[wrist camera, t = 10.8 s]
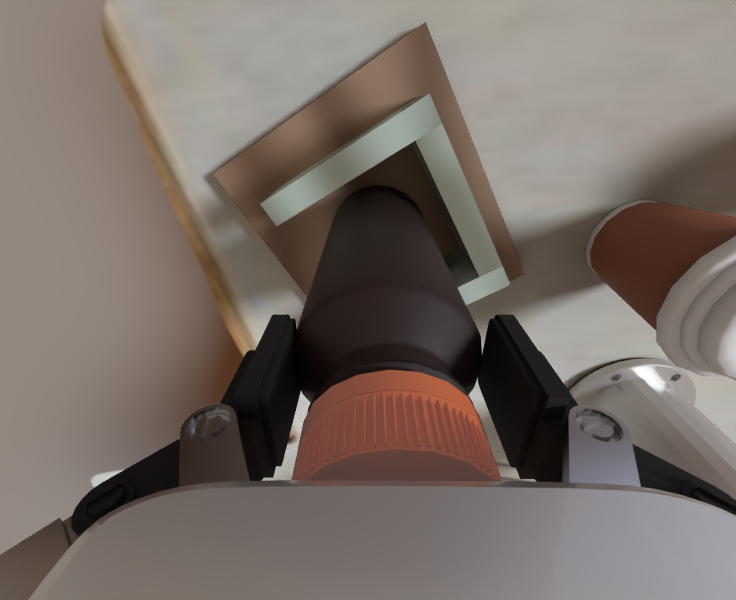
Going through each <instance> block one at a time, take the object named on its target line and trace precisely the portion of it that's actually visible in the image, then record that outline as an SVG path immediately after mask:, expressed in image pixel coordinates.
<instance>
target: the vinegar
mask: <svg viewBox="0 0 736 600" xmlns="http://www.w3.org/2000/svg"><path fill="white" fill-rule="evenodd" d="M294 359H295V370H296V377H297V381H298V384H299V386H300V389H301V391H302V393H303V395H304V396H305V397H306V398H307V399H308V400H309V401H310V402H311V404H310V406H309V408H308V414H307V416H306V418H305V420H304V422H303V427H302V432H301V437H300V441H299V446H298V452H297V457H296V462H295V467H294V471H293V476H292V480H390V481H502V479H501V477H500V474H499V471H498V468H497V465H496V462H495V460H494V457H493V454H492V451H491V448H490V445H489V443H488V439H487V436H486V433H485V430H484V428H483V425H482V422H481V419H480V416H479V414H478V413H477V411H476V409H475V408H474V405H473V402H472V401H471V399H470V397H469V396H468V395H469V393H470V392H471V391H472V390H473V388H474V386H475V383H476V380H477V377H478V375H479V372H480V369H481V366H482V348H481V336H480V333H479V331H478V329H477V327H476V325H475V323H474V321H473V319H472V317H471V314H470V312H469V310H468V308H467V306H466V304H465V302H464V300H463V298H462V296H461V294H460V292H459V290H458V288H457V286H456V284H455V282H454V280H453V277H452V275H451V273H450V271H449V269H448V267H447V265H446V263H445V261H444V259H443V257H442V255H441V253H440V251H439V249H438V247H437V245H436V242H435V240H434V238H433V236H432V234H431V232H430V230H429V228H428V226H427V224H426V222H425V220H424V218H423V216H422V214H421V212H420V210H419V208H418V206H417V204H416V203H415V202H414V201H413V200H412V199H411V198H410V197H409V196H408V195H407V194H406V193H404V192H402V191H399V190H397V189H395V188H393V187H388V186H378V185H375V186H370V187H366V188H361V189H359V190H358V191H356V192H354V193H353V194H351V195H349V196H348V197H347V198H346V199H345V200H344V201H343V202H342V204H341V205H340V206H339V207H338V209H337V211H336V214H335V216H334V219H333V221H332V224H331V227H330V230H329V233H328V236H327V239H326V242H325V245H324V248H323V251H322V255H321V258H320V261H319V264H318V267H317V270H316V273H315V276H314V279H313V282H312V285H311V288H310V291H309V294H308V297H307V300H306V303H305V306H304V309H303V312H302V315H301V318H300V321H299V324H298V327H297V332H296V335H295V339H294Z"/></svg>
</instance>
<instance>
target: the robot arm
mask: <svg viewBox="0 0 736 600" xmlns="http://www.w3.org/2000/svg"><path fill="white" fill-rule="evenodd" d="M296 332H297V329H296V322H295V319H290V316H289V315H272V317H271V319H270V321H269V323H268V325H267V327H266V329H265V331H264V334H263V336H262V338H261V340H260V342H259V344H258V346H257V348H256V350H249V351H248V352H247V353H246V354H245V356H244V358H243V360H242V362H241V364H240V366H239V368H238V370H237V372H236V374H235V376H234V378H233V380H232V382H231V383H230V385H229V387H228V389H227V391H226V393H225V395H224V397H223V399H222V401H221V403H220V404H212V405H207V406H205V407H202V408H200V409H198V410H196V411H195V412H193V413H192V414H191V415H190V416H189V417H188V418H187V419H186V420H185V421H184V422H183V424H182V426H181V429H180V439H178V440H176V441H175V442H173V443H172V444H169V445H168V446H166V447H165V448H162V449H161V450H159V451H157V452H155V453H154V454H152V455H150V456H148V457H147V458H145V459H143V460H141V461H139V462H138V463H136V464H134V465H132V466H131V467H129V468H127V469H125V470H124V471H122V472H120V473H118V474H116V475H115V476H113V477H111V478H109V479H108V480H106V481H104V482H102V483H101V484H99V485H98V486H96V487H95V488H94V489H92V490H91V491H90V492H89V493H88V494H87V495H86V496H85V497H83V499H82V500H81V501H80V503H79V504H78V505H77V507H76V508H75V510H74V513H73V515H72V516H71V517H69V518H68V519H66V520H64V521H62V520H61V519H60V518H58V519H57V520H55V521H54V522H52V523H50V524H49V525H47V526H45V527H44V528H42V529H41V530H39V531H37V532H36V533H34V534H33V535H31V536H29V537H28V538H26V539H25V540H23V541H21V542H20V543H18V544H17V545H15V546H14V547H12V548H10V549H9V550H7V551H6V552H4V553H2V554H1V555H0V600H736V444H735V443H734V442H733V441H732V440H731V439H730V438H729V437H728V436H727V435H726V434H724V433H723V432H722V431H721V430H720V429H719V428H718V427H717V426H716V425H715V424H714V423H712V422H711V421H710V420H709V419H708V418H707V417H706V416H705V415H704V414H703V413H702V412H700V411H699V410H698V409H697V408H696V407H695V406H694V402H695V399H696V389H695V386H694V383H693V381H692V380H691V378H690V377H689V376H688V375H687V374H686V373H685V372H683V371H682V370H681V369H680V368H679V367H677V366H675V365H673V364H671V363H669V362H666V361H662V360H658V359H647V358H644V359H631V360H626V361H622V362H617V363H614V364H611V365H608V366H605V367H603V368H601V369H599V370H597V371H595V372H593V373H591V374H589V375H588V376H586V377H585V378H583V379H582V380H580V381H579V382H578V383H577V384H576V385H575V386H573V387H572V388H571V390H570V391H568V389H567V388H566V386H565V385H564V384H563V382H562V381H561V379H560V378H559V376H558V375H557V374H556V372H555V371H554V369H553V368H552V366H551V365H550V364H549V362H548V361H547V359H546V358H545V356H544V355H543V354H542V353H541V352H540V351H538V350H537V348H536V347H535V345H534V344H533V342H532V341H531V339H530V338H529V337H528V335H527V334H526V332H525V331H524V329H523V328H522V326H521V325H520V324H519V322H518V321H517V319H516V318H515V316H514V315H495V317H494V319H490V320H489V324H488V329H487V334H486V339H485V344H484V349H483V353H482V366H481V369H480V372H479V375H478V384H479V387H480V390H481V392H482V395H483V397H484V400H485V402H486V405H487V408H488V410H489V413H490V415H491V418H492V420H493V423H494V425H495V428H496V431H497V433H498V436H499V438H500V441H501V443H502V446H503V449H504V451H505V454H506V456H507V459H508V461H509V464H510V466H511V467H516V469H517V472H518V474H519V477H520V479H535V480H536V481H537V482H517V481H390V480H278V481H261V480H262V479H263V478H273V476H274V472H275V468H276V466H281V465H282V462H283V459H284V455H285V451H286V447H287V443H288V439H289V435H290V431H291V427H292V423H293V419H294V415H295V411H296V407H297V403H298V399H299V395H300V391H301V389H300V386H299V384H298V381H297V377H296V370H295V359H294V339H295V335H296Z"/></svg>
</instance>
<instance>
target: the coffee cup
mask: <svg viewBox="0 0 736 600" xmlns="http://www.w3.org/2000/svg"><path fill="white" fill-rule="evenodd" d="M585 252H586V262H587V264H588V265H589V267H590V268H591V269H592V271H593V272H594V273H595V274H596V275H598V276H599V277H600V278H601V279H602V280H603V281H604V282H605V283H606V284H607V285H608V286H609V287H610V288H612V289H613V290H614V291H615V292H616V293H617V294H618V295H619V296H620V297H621V298H622V299H623V300H624V301H625V302H626V303H627V304H629V305H630V306H631V307H632V308H633V309H634V310H635V311H636V312H637V313H638V314H639V315H640V316H641V317H642V318H643V319H644V320H645V321H647V322H648V323H649V324H650V325H651V326H652V327H653V328H654V329H655V330H656V342H657V343H658V344H659V346H660V347H661V349H662V350H663V351H664V353H665V354H666V356H667V357H668V358H669V359H670V360H671V361H672V362H673V363H674V364H676V365H677V366H679V367H681V368H684V369H686V370H689V371H691V372H694V373H696V374H699V375H702V376H727V377H729V378H732V379H734V380H736V218H735V217H730V216H725V215H720V214H716V213H711V212H706V211H701V210H696V209H691V208H686V207H681V206H676V205H671V204H666V203H661V202H658V201H654V200H636V201H633V202H630V203H627V204H625V205H622V206H619V207H617V208H616V209H614V210H613V211H612V212H610V213H609V214H608V215H606V216H605V217H603V218H602V219H601V220H600V222H599V223H598V224H597V226H596V227H595V228H594V230H593V231H592V232H591V233H590V236H589V239H588V242H587V245H586V248H585Z"/></svg>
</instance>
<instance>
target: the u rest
mask: <svg viewBox="0 0 736 600" xmlns="http://www.w3.org/2000/svg"><path fill="white" fill-rule="evenodd" d="M213 175H214V176H215V177H216V179H217V180H218V181H219V183H220V184H221V185H222V187H223V188H224V189H225V190H226V192H227V193H228V194H229V196H230V197H231V198H232V200H233V201H234V202H235V203H236V205H237V206H238V207H239V209H240V210H241V211H242V213H243V214H244V215H245V216H246V218H247V219H248V220H249V222H250V223H251V224H252V226H253V227H254V228H255V229H256V231H257V232H258V233H259V235H260V236H261V237H262V239H263V240H264V241H265V242H266V244H267V245H268V246H269V248H270V249H271V250H272V252H273V253H274V254H275V256H276V257H277V258H278V259H279V261H280V262H281V263H282V265H283V266H284V267H285V269H286V270H287V271H288V272H289V274H290V275H291V276H292V278H293V279H294V280H295V282H296V283H297V284H298V285H299V287H300V288H301V289H302V291H303V292H304V293H305V295H306V296H307V297H308V294H309V291H310V288H311V285H312V282H313V279H314V276H315V273H316V270H317V267H318V264H319V261H320V258H321V255H322V251H323V248H324V245H325V242H326V239H327V236H328V233H329V230H330V227H331V224H332V221H333V219H334V216H335V214H336V211H337V209H338V207H339V206H340V205H341V204H342V202H343V201H344V200H345V199H346V198H347V197H348V196H349V195H351V194H353V193H354V192H356V191H358V190H359V189H361V188H366V187H370V186H375V185H378V186H388V187H393V188H395V189H397V190H399V191H402V192H404V193H406V194H407V195H408V196H409V197H410V198H411V199H412V200H413V201H414V202H415V203H416V204H417V206H418V208H419V210H420V212H421V214H422V216H423V218H424V220H425V222H426V224H427V226H428V228H429V230H430V232H431V234H432V236H433V238H434V240H435V242H436V245H437V247H438V249H439V251H440V253H441V255H442V257H443V259H444V261H445V263H446V265H447V267H448V269H449V271H450V273H451V275H452V277H453V280H454V282H455V284H456V286H457V288H458V290H459V292H460V294H461V296H462V298H463V300H464V302H465V304H466V305H468V304H470V303H472V302H474V301H477V300H479V299H481V298H483V297H485V296H487V295H490V294H492V293H494V292H496V291H498V290H500V289H503V288H505V287H507V286H509V285H510V282H509V281H511V280H513V279H515V278H517V277H520V276H522V275H524V274H525V273H524V271H523V268H522V266H521V263H520V260H519V258H518V255H517V253H516V250H515V248H514V245H513V243H512V240H511V238H510V235H509V233H508V230H507V228H506V225H505V222H504V220H503V217H502V215H501V212H500V210H499V207H498V205H497V202H496V200H495V197H494V195H493V192H492V189H491V187H490V184H489V182H488V179H487V177H486V174H485V172H484V169H483V167H482V164H481V162H480V159H479V156H478V154H477V151H476V149H475V146H474V144H473V141H472V139H471V136H470V134H469V131H468V129H467V126H466V124H465V121H464V118H463V116H462V113H461V111H460V108H459V106H458V103H457V101H456V98H455V96H454V93H453V91H452V88H451V85H450V83H449V80H448V78H447V75H446V73H445V70H444V68H443V65H442V63H441V60H440V58H439V55H438V52H437V50H436V47H435V45H434V42H433V40H432V37H431V35H430V32H429V30H428V27H427V25H426V22H425V23H423V24H422V25H421V26H419V27H418V28H416V29H415V30H414V31H412V32H411V33H409V34H408V35H407V36H405V37H404V38H402V39H401V40H400V41H398V42H397V43H395V44H394V45H393V46H391V47H390V48H388V49H387V50H385V51H384V52H383V53H381V54H380V55H378V56H377V57H376V58H374V59H373V60H371V61H370V62H369V63H367V64H366V65H364V66H363V67H362V68H360V69H359V70H357V71H356V72H355V73H353V74H352V75H350V76H349V77H348V78H346V79H345V80H343V81H342V82H341V83H339V84H338V85H336V86H335V87H334V88H332V89H331V90H329V91H328V92H327V93H325V94H324V95H322V96H321V97H320V98H318V99H317V100H315V101H314V102H313V103H311V104H310V105H308V106H307V107H306V108H304V109H303V110H301V111H300V112H299V113H297V114H296V115H294V116H293V117H292V118H290V119H289V120H287V121H286V122H285V123H283V124H282V125H280V126H279V127H278V128H276V129H275V130H273V131H272V132H271V133H269V134H268V135H266V136H265V137H264V138H262V139H261V140H259V141H258V142H257V143H255V144H254V145H252V146H251V147H250V148H248V149H247V150H245V151H244V152H243V153H241V154H240V155H238V156H237V157H236V158H234V159H233V160H231V161H230V162H229V163H227V164H226V165H224V166H223V167H222V168H220V169H219V170H217V171H216V172H215V173H213Z"/></svg>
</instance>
